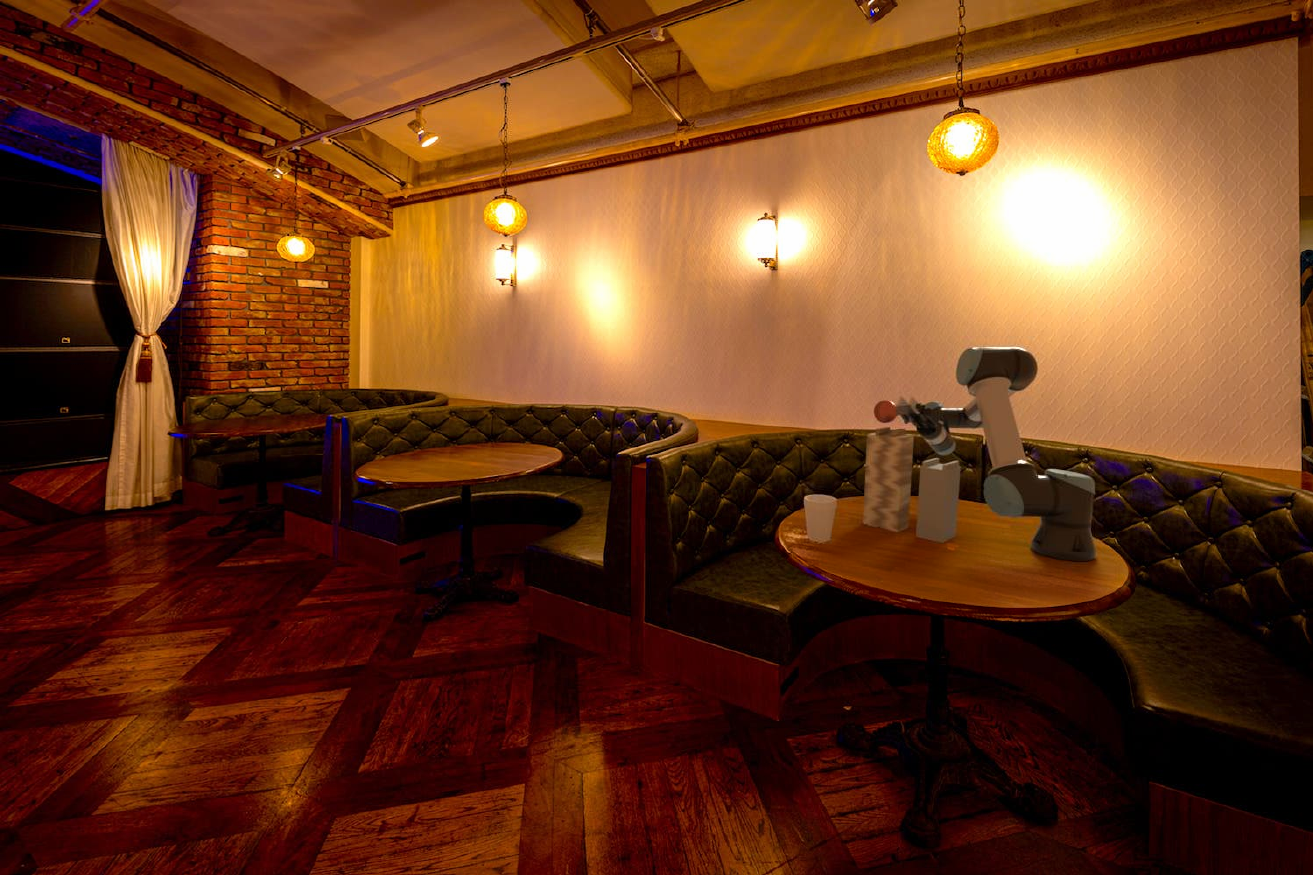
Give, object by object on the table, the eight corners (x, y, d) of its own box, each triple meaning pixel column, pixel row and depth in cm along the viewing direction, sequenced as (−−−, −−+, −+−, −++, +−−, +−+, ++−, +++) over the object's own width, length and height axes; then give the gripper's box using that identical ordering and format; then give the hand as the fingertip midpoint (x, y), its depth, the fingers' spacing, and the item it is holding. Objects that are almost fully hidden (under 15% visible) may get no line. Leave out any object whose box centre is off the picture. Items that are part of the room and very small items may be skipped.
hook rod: (926, 418, 198) (927, 397, 197) (894, 423, 183) (895, 401, 182) (905, 416, 203) (906, 396, 202) (873, 422, 189) (874, 400, 188)
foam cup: (838, 545, 175) (840, 502, 173) (807, 545, 176) (808, 502, 174) (829, 535, 185) (831, 494, 183) (800, 535, 185) (801, 494, 183)
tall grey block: (955, 536, 183) (961, 461, 179) (942, 543, 177) (947, 465, 173) (929, 530, 189) (934, 457, 185) (916, 536, 183) (920, 461, 179)
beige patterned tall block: (908, 527, 192) (914, 429, 187) (897, 532, 187) (903, 431, 182) (873, 519, 201) (878, 426, 196) (862, 523, 196) (867, 428, 191)
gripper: (951, 442, 202) (926, 412, 187) (905, 437, 214) (878, 408, 199) (957, 422, 204) (933, 391, 189) (911, 418, 216) (885, 389, 201)
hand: (905, 400), depth 194 cm, fingers closed on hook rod, 3 cm apart
